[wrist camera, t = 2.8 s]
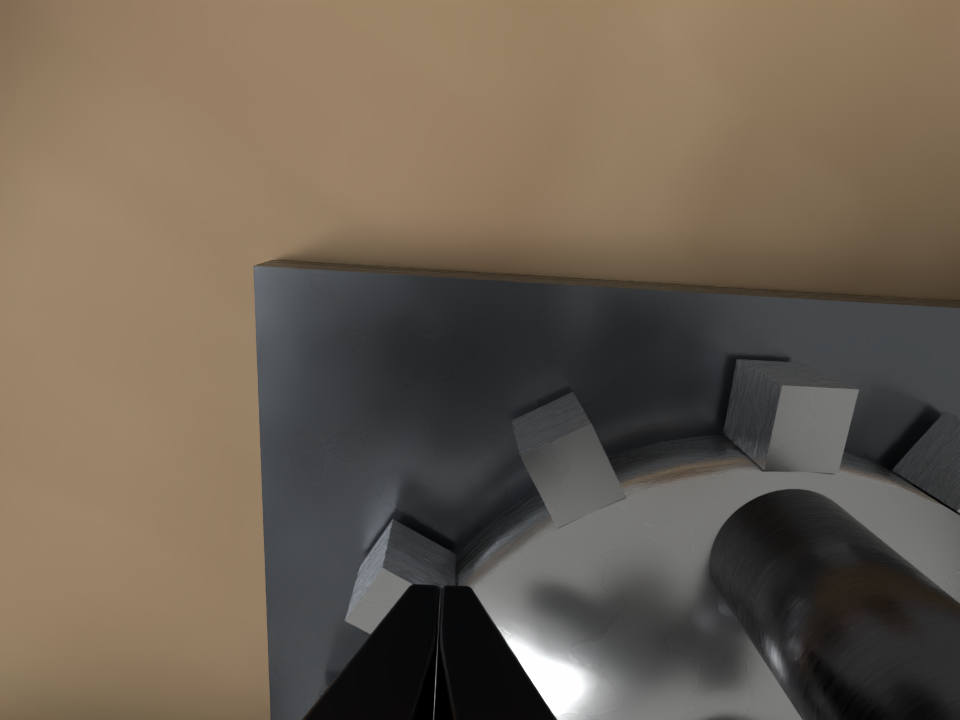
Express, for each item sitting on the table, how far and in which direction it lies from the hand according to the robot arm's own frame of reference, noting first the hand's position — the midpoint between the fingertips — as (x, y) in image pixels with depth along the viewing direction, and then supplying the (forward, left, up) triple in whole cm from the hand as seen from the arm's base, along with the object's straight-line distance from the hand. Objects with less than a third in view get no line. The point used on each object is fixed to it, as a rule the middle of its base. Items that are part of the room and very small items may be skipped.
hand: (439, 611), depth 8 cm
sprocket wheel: (-5, -6, -3) cm, 8 cm away
